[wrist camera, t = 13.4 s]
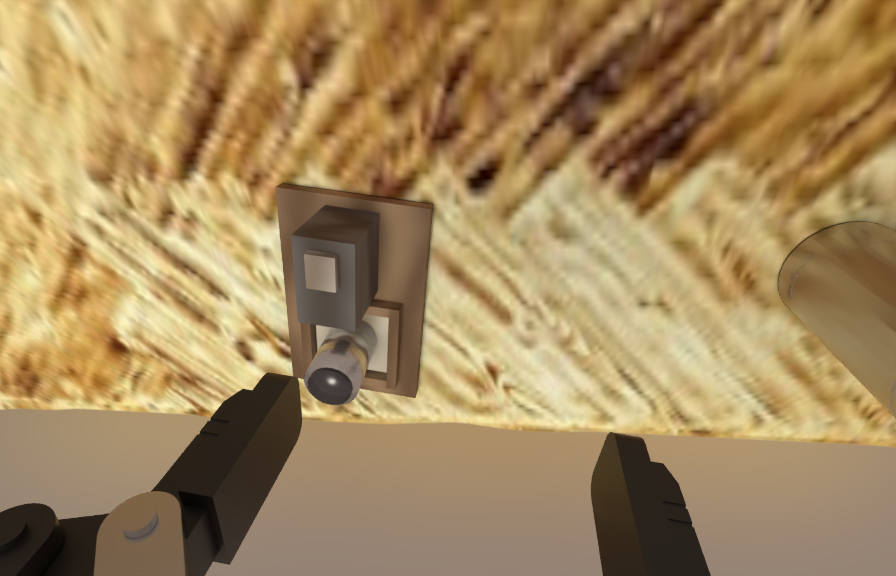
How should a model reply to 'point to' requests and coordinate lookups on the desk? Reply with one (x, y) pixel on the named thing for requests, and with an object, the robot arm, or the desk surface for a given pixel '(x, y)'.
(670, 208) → the desk surface
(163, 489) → the robot arm
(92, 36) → the desk surface
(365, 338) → the lens
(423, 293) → the dock
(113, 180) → the desk surface
